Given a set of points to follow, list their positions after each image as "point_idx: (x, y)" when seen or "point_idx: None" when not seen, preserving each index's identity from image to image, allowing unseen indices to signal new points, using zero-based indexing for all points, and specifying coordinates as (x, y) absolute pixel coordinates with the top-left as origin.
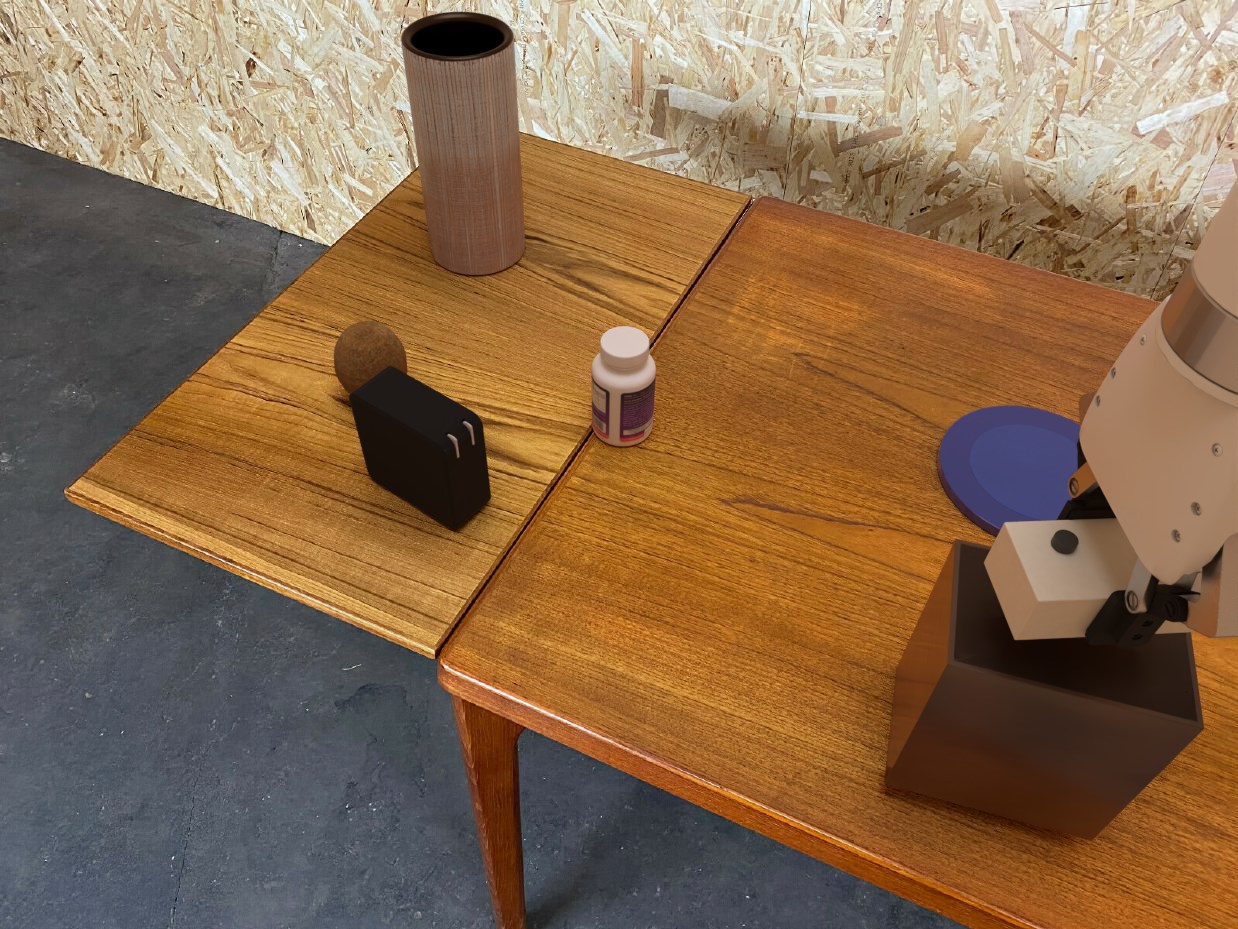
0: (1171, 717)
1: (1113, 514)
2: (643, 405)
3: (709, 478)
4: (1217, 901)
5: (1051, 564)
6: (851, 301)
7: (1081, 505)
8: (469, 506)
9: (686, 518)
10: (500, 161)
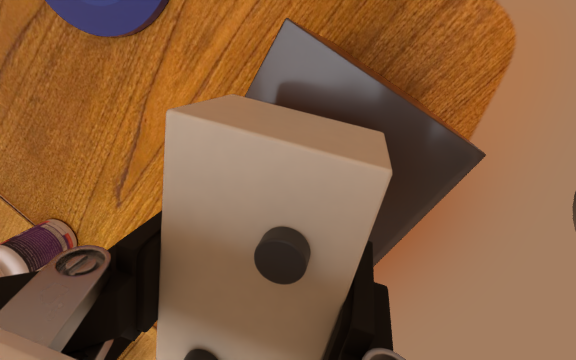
0: (450, 184)
1: (152, 265)
2: (40, 250)
3: (100, 205)
4: (511, 30)
5: None
6: None
7: (130, 325)
8: (118, 339)
9: (130, 231)
10: None
